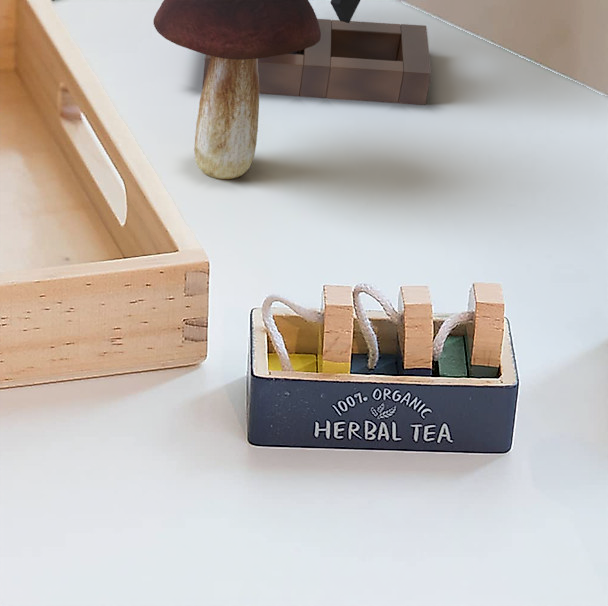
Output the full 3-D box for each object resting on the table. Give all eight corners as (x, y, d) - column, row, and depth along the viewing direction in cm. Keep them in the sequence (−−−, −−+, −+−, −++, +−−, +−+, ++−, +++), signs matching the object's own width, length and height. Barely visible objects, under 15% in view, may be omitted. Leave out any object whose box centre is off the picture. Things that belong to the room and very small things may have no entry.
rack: (419, 62, 122) (426, 25, 120) (423, 112, 115) (431, 73, 113) (209, 48, 124) (213, 11, 122) (201, 96, 117) (204, 58, 115)
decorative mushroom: (259, 134, 112) (283, -78, 102) (328, 201, 105) (362, -21, 95) (120, 155, 110) (132, -60, 100) (181, 225, 102) (199, 0, 92)
